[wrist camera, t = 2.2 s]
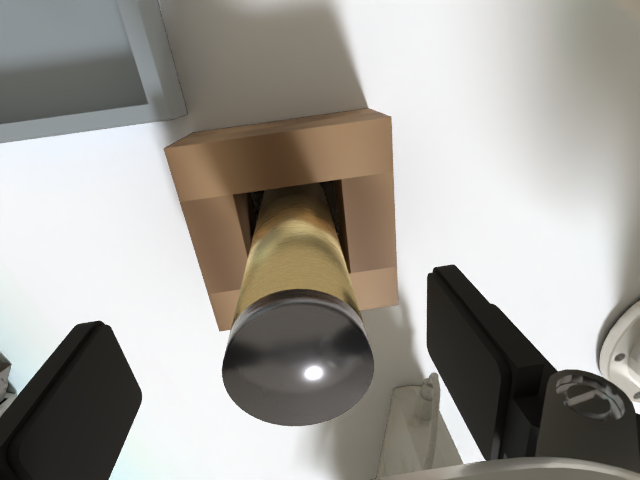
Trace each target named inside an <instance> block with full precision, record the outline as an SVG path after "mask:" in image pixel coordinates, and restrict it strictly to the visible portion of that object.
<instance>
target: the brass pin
mask: <svg viewBox="0 0 640 480" xmlns="http://www.w3.org/2000/svg"><path fill="white" fill-rule="evenodd" d="M373 372H374V360H373V355H372V351H371V348H370V344H369V341H368V338H367V334H366V331H365V327H364V324H363V321H362V317H361V314H360V310H359V307H358V304H357V300H356V297H355V294H354V290H353V287H352V283H351V280H350V277H349V273H348V270H347V266H346V263H345V260H344V256H343V253H342V249H341V246H340V243H339V239H338V236H337V232H336V229H335V226H334V222H333V219H332V215H331V212H330V209H329V205H328V202H327V199H326V195H325V192H324V190H323V188H322V187H321V185H320V184H319V183H311V184H303V185H296V186H289V187H282V188H275V189H268V190H265V191H264V194H263V198H262V202H261V206H260V210H259V214H258V219H257V223H256V227H255V231H254V235H253V239H252V244H251V248H250V252H249V256H248V260H247V264H246V269H245V273H244V277H243V281H242V285H241V289H240V293H239V298H238V302H237V306H236V310H235V314H234V318H233V323H232V327H231V331H230V335H229V339H228V343H227V348H226V352H225V356H224V360H223V366H222V378H223V382H224V386H225V388H226V390H227V392H228V394H229V396H230V397H231V399H232V400H233V401H234V402H235V403H236V405H238V406H239V407H240V408H241V409H242V410H243V411H245V412H246V413H248V414H249V415H251V416H253V417H255V418H257V419H260V420H262V421H265V422H268V423H272V424H277V425H283V426H305V425H312V424H317V423H321V422H324V421H327V420H330V419H332V418H335V417H337V416H339V415H341V414H343V413H344V412H346V411H347V410H349V409H350V408H351V407H353V406H354V405H355V404H356V403H357V402H358V401H359V400H360V399H361V398H362V397H363V395H364V394H365V392H366V391H367V389H368V387H369V385H370V383H371V380H372V377H373Z"/></svg>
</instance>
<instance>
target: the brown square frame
mask: <svg viewBox="0 0 640 480" xmlns="http://www.w3.org/2000/svg"><path fill="white" fill-rule="evenodd" d="M164 152H165V155H166V158H167V161H168V165H169V168H170V171H171V174H172V178H173V181H174V184H175V187H176V191H177V194H178V197H179V201H180V204H181V207H182V210H183V214H184V217H185V220H186V223H187V227H188V230H189V233H190V237H191V240H192V243H193V246H194V250H195V253H196V256H197V259H198V263H199V266H200V269H201V272H202V276H203V279H204V282H205V286H206V289H207V292H208V295H209V299H210V302H211V305H212V308H213V312H214V315H215V318H216V322H217V325H218V328H219V331H225V330H231V327H232V323H233V318H234V314H235V310H236V306H237V302H238V298H239V293H240V289H241V285H242V281H243V277H244V273H245V269H246V264H247V260H248V256H249V252H250V248H251V244H252V239H253V235H254V231H255V227H256V223H257V222H256V217H255V212H254V208H253V203H252V198H251V194H250V192H254V191H261V190H268V189H275V188H282V187H289V186H296V185H303V184H311V183H318V182H325V181H332V180H333V184H334V193H335V202H336V211H337V220H338V229H339V235H337V236H338V239H339V243H340V246H341V249H342V253H343V256H344V260H345V263H346V266H347V270H348V273H349V277H350V280H351V283H352V287H353V290H354V294H355V297H356V300H357V304H358V307H359V310H367V309H374V308H380V307H387V306H394V305H398V284H397V258H396V231H395V204H394V177H393V150H392V124H391V117H390V116H388V115H385V114H382V113H380V112H377V111H374V110H372V109H369V108H367V109H360V110H352V111H345V112H338V113H331V114H324V115H316V116H309V117H302V118H295V119H288V120H280V121H273V122H266V123H259V124H252V125H244V126H237V127H230V128H223V129H216V130H208V131H201V132H194V133H191V134H189V135H188V136H186V137H184V138H182V139H180V140H178V141H177V142H175V143H173V144H171V145H169V146H167V147H166V148H164Z"/></svg>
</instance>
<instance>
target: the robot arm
mask: <svg viewBox="0 0 640 480" xmlns="http://www.w3.org/2000/svg"><path fill="white" fill-rule="evenodd" d="M427 348H428V352H429V355H430V357H431V359H432V361H433V362H434V364H435V366H436V368H437V370H438V372H439V374H440V376H441V378H442V379H443V381H444V383H445V385H446V387H447V389H448V391H449V393H450V395H451V397H452V398H453V400H454V402H455V404H456V406H457V408H458V410H459V412H460V414H461V416H462V417H463V419H464V421H465V423H466V425H467V427H468V429H469V431H470V433H471V434H472V436H473V438H474V440H475V442H476V444H477V446H478V448H479V450H480V452H481V453H482V455H483V457H484V459H485V460H486V461H481V462H475V463H468V464H462V465H456V466H449V467H443V468H436V469H430V470H423V471H417V472H411V473H405V474H399V475H394V476H388V477H382V478H376V479H371V480H640V414H637V413H635V409H634V406H633V403H632V401H634V402H640V300H639V301H638V302H637V303H635V304H634V305H633V306H631V307H630V308H629V309H628V310H627V311H626V312H625V313H624V314H623V315H622V316H621V317H620V318H619V320H618V321H617V322H616V323H615V325H614V326H613V327H612V329H611V330H610V332H609V334H608V335H607V337H606V339H605V341H604V344H603V347H602V350H601V353H600V362H599V365H600V371H601V374H602V376H603V377H601V376H598V375H595V374H593V373H590V372H586V371H581V370H562V371H557V370H556V369H555V368H554V367H553V366H552V365H551V364H550V363H549V362H548V361H547V359H546V358H545V357H544V356H543V355H542V354H541V353H540V352H539V351H538V350H537V349H536V348H535V347H534V345H533V344H532V343H531V342H530V341H529V340H528V339H527V338H526V337H525V336H524V335H523V334H522V333H521V331H520V330H519V329H518V328H517V327H516V326H515V325H514V324H513V323H512V322H511V321H510V320H509V319H508V317H507V316H506V315H505V314H504V313H503V312H502V311H501V310H500V309H499V308H498V307H497V306H496V305H494V304H490V303H489V302H488V301H487V300H486V299H485V297H484V296H483V295H482V294H481V293H480V292H479V291H478V290H477V289H476V288H475V286H474V285H473V284H472V283H471V282H470V281H469V280H468V279H467V278H466V277H465V275H464V274H463V273H462V272H461V271H460V270H459V269H458V268H457V267H456V266H455V265H447V266H441V267H435V268H434V269H433V273H429V274H428V276H427ZM141 401H142V392H141V389H140V387H139V385H138V383H137V381H136V379H135V377H134V375H133V373H132V370H131V368H130V366H129V364H128V362H127V360H126V358H125V356H124V354H123V352H122V349H121V347H120V345H119V343H118V341H117V339H116V337H115V335H114V333H113V331H112V329H111V327H110V326H109V325H105V324H104V323H103V322H102V321H94V322H88V323H82V324H78V325H76V326H75V327H74V328H73V329H72V330H71V332H70V333H69V334H68V335H67V336H66V338H65V339H64V340H63V341H62V342H61V344H60V345H59V346H58V347H57V349H56V350H55V351H54V352H53V353H52V355H51V356H50V357H49V358H48V360H47V361H46V362H45V363H44V364H43V366H42V367H41V368H40V369H39V370H38V372H37V373H36V374H35V375H34V377H33V378H32V379H31V380H30V381H29V383H28V384H27V385H26V386H25V388H24V389H23V390H22V391H21V392H20V394H19V395H18V396H17V397H16V398H15V400H14V401H13V402H12V403H11V405H10V406H9V407H8V408H7V409H6V411H5V412H4V413H3V414H2V415H1V417H0V480H109V477H110V475H111V473H112V470H113V468H114V466H115V463H116V461H117V459H118V456H119V454H120V452H121V449H122V447H123V445H124V442H125V440H126V438H127V435H128V433H129V430H130V428H131V426H132V423H133V421H134V419H135V416H136V414H137V412H138V409H139V407H140V405H141Z"/></svg>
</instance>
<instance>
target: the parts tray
mask: <svg viewBox="0 0 640 480" xmlns="http://www.w3.org/2000/svg"><path fill="white" fill-rule="evenodd" d="M186 114H188V113H187V109H186V106H185V102H184V98H183V94H182V91H181V87H180V83H179V79H178V76H177V72H176V68H175V64H174V61H173V57H172V53H171V49H170V46H169V42H168V38H167V34H166V31H165V27H164V23H163V19H162V16H161V12H160V8H159V4H158V1H157V0H0V143H6V142H13V141H21V140H28V139H35V138H42V137H49V136H57V135H64V134H71V133H78V132H86V131H93V130H100V129H107V128H115V127H122V126H129V125H136V124H144V123H151V122H158V121H165V120H172V119H175V118H177V117H180V116H183V115H186Z"/></svg>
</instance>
